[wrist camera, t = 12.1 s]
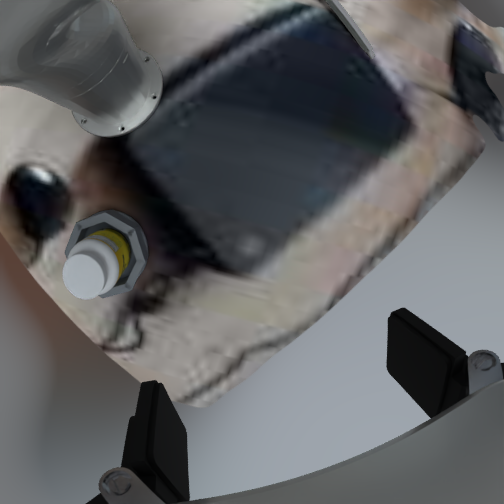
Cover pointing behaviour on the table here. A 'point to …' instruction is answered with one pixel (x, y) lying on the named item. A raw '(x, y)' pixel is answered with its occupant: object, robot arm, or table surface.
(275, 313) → the table surface
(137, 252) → the socket cup
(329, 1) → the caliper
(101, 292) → the pill bottle
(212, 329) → the table surface
